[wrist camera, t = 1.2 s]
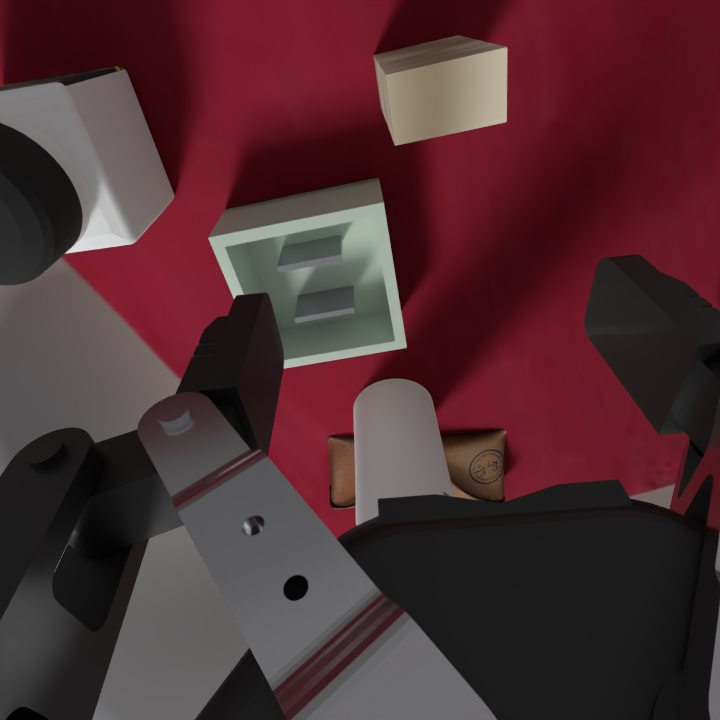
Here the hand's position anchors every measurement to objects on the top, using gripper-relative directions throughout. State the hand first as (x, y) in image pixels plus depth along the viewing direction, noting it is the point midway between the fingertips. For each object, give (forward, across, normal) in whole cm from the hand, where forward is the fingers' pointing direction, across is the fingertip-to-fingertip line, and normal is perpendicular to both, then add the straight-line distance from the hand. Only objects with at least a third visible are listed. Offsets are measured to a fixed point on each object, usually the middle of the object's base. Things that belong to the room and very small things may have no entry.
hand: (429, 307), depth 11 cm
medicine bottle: (+19, +17, -1) cm, 26 cm away
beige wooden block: (+19, -2, -3) cm, 20 cm away
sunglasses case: (+20, -1, +30) cm, 36 cm away
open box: (+19, +5, +8) cm, 21 cm away
